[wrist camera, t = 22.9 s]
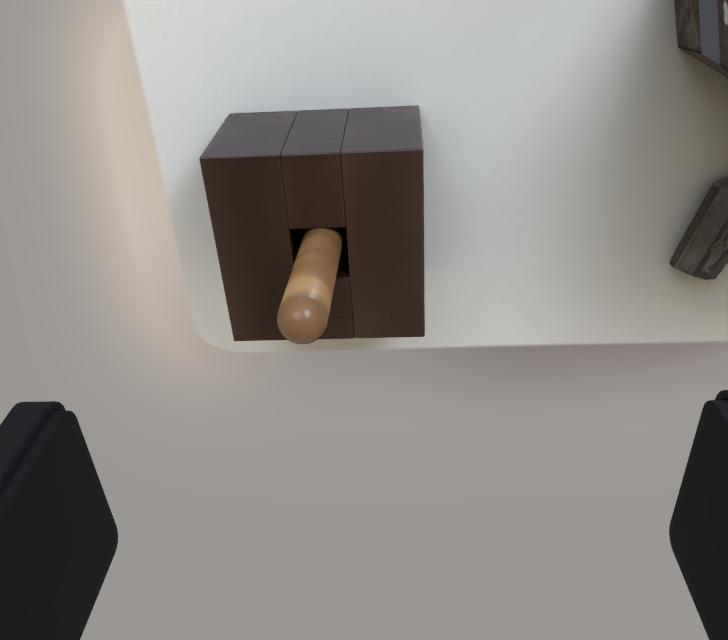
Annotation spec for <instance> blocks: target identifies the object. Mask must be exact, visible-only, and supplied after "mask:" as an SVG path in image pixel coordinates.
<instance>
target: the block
mask: <svg viewBox="0 0 728 640" xmlns="http://www.w3.org/2000/svg"><path fill="white" fill-rule="evenodd" d="M727 263H728V178H727V179H723V180H721V181H718V182H716V183H715V184H713V185H712V187H711V188H710V191H709V192H708V194H707V196H706V197H705V199H704V201H703V203H702V204H701V206H700V208H699V210H698V212H697V213H696V215H695V217H694V219H693V222H691V224H690V226H689V227H688V229H687V231H686V233H685V235H684V237H683V238H682V240H681V242H680V244H679V245H678V247H677V249H676V251H675V253H674V255H673V256H672V258H671V261H670V265H671V266H672V267H674V268H676V269H678V270H680V271H683V272H685V273H687V274H689V275H692V276H695V277H698V278H701V279H705V280H707V279H715V278H716V277H717V276H718V274H719V273H720V272H721V271H722V269H723V268H724V267H725V265H726V264H727Z"/></svg>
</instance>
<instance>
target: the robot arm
mask: <svg viewBox="0 0 728 640" xmlns="http://www.w3.org/2000/svg"><path fill="white" fill-rule="evenodd" d="M669 532H670V533H669V534H670V542H671V546H672V549H673V552H674V555H675V557H676V560H677V562H678V564H679V567H680V569H681V572H682V574H683V576H684V579H685V582H686V584H687V586H688V589H689V591H690V594H691V596H692V599H693V601H694V604H695V606H696V608H697V611H698V613H699V616H700V618H701V621H702V623H703V625H704V628H705V630H706V633H707V635H708V638H709V640H728V390H724V391H720V392H719V394H718V395H717V396H716V399H715V400H711V401H707V402H706V403H705V405H704V407H703V410H702V413H701V417H700V420H699V424H698V427H697V431H696V434H695V438H694V441H693V445H692V449H691V452H690V456H689V459H688V463H687V466H686V470H685V473H684V477H683V481H682V484H681V487H680V491H679V495H678V498H677V501H676V505H675V508H674V512H673V515H672V519H671V523H670V531H669ZM117 543H118V532H117V527H116V524H115V521H114V519H113V516H112V513H111V510H110V508H109V505H108V502H107V499H106V497H105V494H104V491H103V489H102V486H101V483H100V480H99V478H98V475H97V472H96V469H95V467H94V464H93V461H92V458H91V456H90V453H89V450H88V448H87V445H86V442H85V439H84V437H83V434H82V431H81V429H80V426H79V423H78V420H77V418H76V416H75V414H74V413H73V412H72V411H66V410H65V408H64V406H63V405H62V404H61V403H60V402H20V403H18V404H16V405H15V406H14V407H13V408H12V409H11V411H10V412H9V414H8V415H7V417H6V418H5V419H4V421H3V422H2V423H1V425H0V640H80V638H81V636H82V633H83V631H84V628H85V626H86V623H87V621H88V619H89V616H90V614H91V611H92V609H93V606H94V604H95V601H96V599H97V596H98V594H99V591H100V589H101V586H102V584H103V582H104V579H105V577H106V574H107V571H108V569H109V567H110V564H111V561H112V559H113V557H114V554H115V551H116V548H117Z"/></svg>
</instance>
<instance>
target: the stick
mask: <svg viewBox="0 0 728 640" xmlns="http://www.w3.org/2000/svg"><path fill="white" fill-rule="evenodd" d="M345 228H346V227H335V228H306V231H305V234H304V237H303V240H302V243H301V246H300V249H299V252H298V254H297V257H296V260H295V263H294V266H293V269H292V272H291V275H290V278H289V281H288V284H287V287H286V290H285V293H284V296H283V298H282V301H281V304H280V307H279V310H278V314H277V324H278V327H279V330H280V332H281V333H282V335H283V336H284V337H285V338H287V339H288V340H289V341H291V342H294V343H297V344H308V343H311V342H314V341H315V340H317V339H318V338H319V337H320V336H321V335H322V334H323V333H324V331H325V329H326V326H327V322H328V317H329V312H330V307H331V301H332V296H333V291H334V286H335V280H336V275H337V270H338V265H339V259H340V254H341V249H342V243H343V238H344V233H345Z"/></svg>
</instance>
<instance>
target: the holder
mask: <svg viewBox="0 0 728 640" xmlns="http://www.w3.org/2000/svg"><path fill="white" fill-rule="evenodd" d="M200 164H201V169H202V175H203V180H204V185H205V190H206V196H207V201H208V206H209V211H210V217H211V222H212V227H213V232H214V238H215V243H216V248H217V253H218V259H219V264H220V269H221V274H222V280H223V285H224V290H225V295H226V301H227V306H228V311H229V316H230V322H231V327H232V332H233V337H234V341H257V340H288V339H287V338H285V337H284V336H283V335H282V333H281V332H280V330H279V327H278V324H277V314H278V310H279V307H280V304H281V301H282V298H283V296H284V293H285V290H286V287H287V284H288V281H289V278H290V275H291V272H292V269H293V266H294V263H295V260H296V257H297V254H298V252H299V249H300V246H301V243H302V240H303V237H304V234H305V231H306V228H335V227H346V228H345V233H344V238H343V243H342V249H341V254H340V259H339V265H338V270H337V275H336V280H335V286H334V291H333V296H332V301H331V307H330V312H329V317H328V322H327V326H326V329H325V331H324V333H323V334H322V335H321V336H320V337H319V338H318V339H346V338H354V337H355V338H383V337H424V335H425V311H424V180H423V142H422V132H421V122H420V112H419V106H399V107H376V108H353V109H329V110H306V111H281V112H258V113H235V114H229V115H228V117H227V118H226V120H225V121H224V123H223V124H222V126H221V127H220V129H219V130H218V132H217V133H216V135H215V136H214V138H213V139H212V141H211V142H210V143H209V145H208V146H207V148H206V149H205V151H204V152H203V154H202V155H201V157H200Z"/></svg>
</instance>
